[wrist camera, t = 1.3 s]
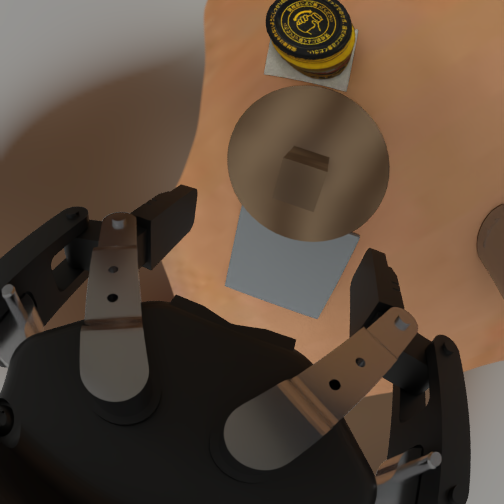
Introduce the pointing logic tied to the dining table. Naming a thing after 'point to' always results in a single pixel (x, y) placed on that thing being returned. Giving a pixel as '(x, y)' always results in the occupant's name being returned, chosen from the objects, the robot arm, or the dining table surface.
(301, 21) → the condiment
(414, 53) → the dining table surface
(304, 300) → the mat
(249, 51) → the dining table surface
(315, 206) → the lid
